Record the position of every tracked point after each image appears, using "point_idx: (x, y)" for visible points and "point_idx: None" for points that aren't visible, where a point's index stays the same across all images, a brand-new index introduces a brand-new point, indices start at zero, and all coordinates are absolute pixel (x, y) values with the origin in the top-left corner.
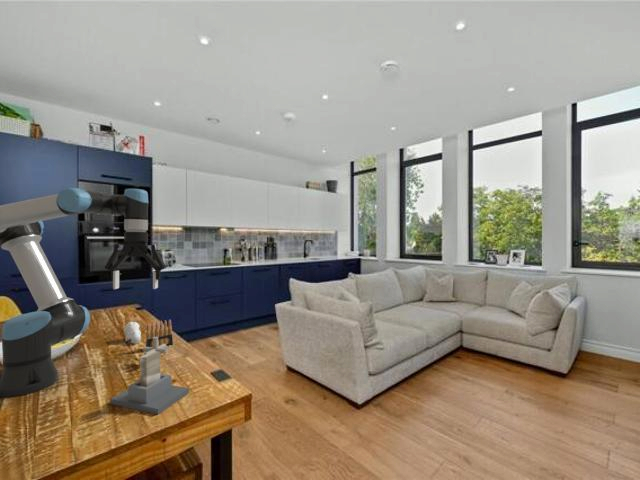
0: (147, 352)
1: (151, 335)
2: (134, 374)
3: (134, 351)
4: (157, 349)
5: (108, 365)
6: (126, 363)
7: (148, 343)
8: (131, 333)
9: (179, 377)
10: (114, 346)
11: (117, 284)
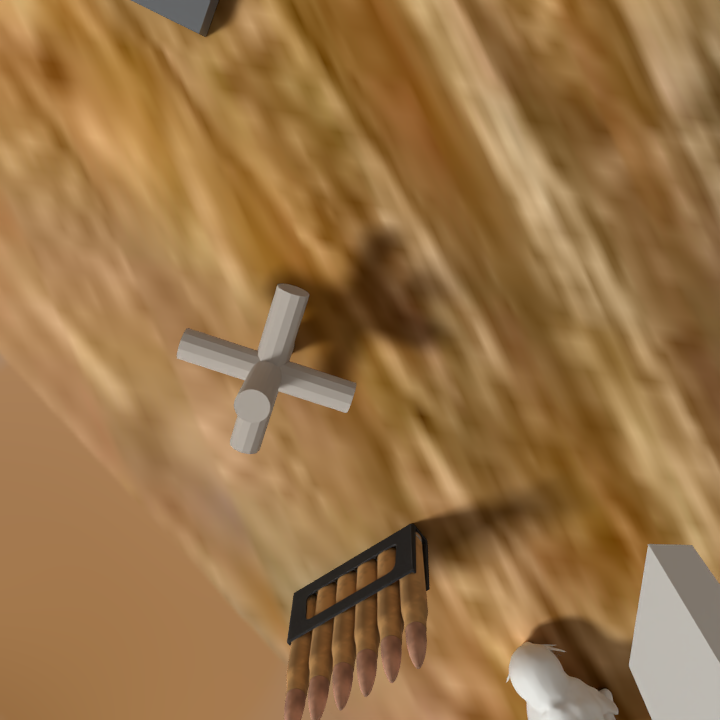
0: (284, 302)
1: (393, 600)
2: (335, 195)
3: (487, 532)
4: (244, 356)
5: (551, 349)
6: (456, 363)
7: (405, 556)
8: (575, 705)
9: (41, 112)
10: None
11: (668, 677)
